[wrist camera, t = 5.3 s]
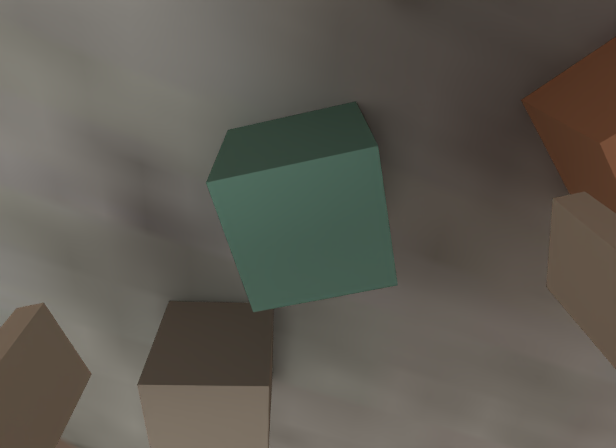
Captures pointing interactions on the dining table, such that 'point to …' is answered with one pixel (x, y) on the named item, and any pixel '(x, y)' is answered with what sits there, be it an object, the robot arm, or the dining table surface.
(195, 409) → the taupe cube
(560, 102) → the terracotta cube
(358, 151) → the teal cube
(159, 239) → the dining table surface
